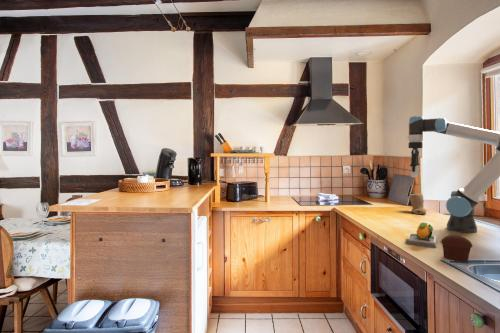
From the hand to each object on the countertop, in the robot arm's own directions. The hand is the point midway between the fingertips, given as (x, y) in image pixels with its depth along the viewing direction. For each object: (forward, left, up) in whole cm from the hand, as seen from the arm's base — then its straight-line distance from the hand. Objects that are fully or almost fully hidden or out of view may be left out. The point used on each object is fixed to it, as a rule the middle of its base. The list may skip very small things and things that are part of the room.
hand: (414, 176), depth 190 cm
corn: (-8, +33, -30) cm, 45 cm away
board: (-6, +32, -32) cm, 46 cm away
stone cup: (+2, -53, -32) cm, 62 cm away
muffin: (-21, +52, -32) cm, 65 cm away
